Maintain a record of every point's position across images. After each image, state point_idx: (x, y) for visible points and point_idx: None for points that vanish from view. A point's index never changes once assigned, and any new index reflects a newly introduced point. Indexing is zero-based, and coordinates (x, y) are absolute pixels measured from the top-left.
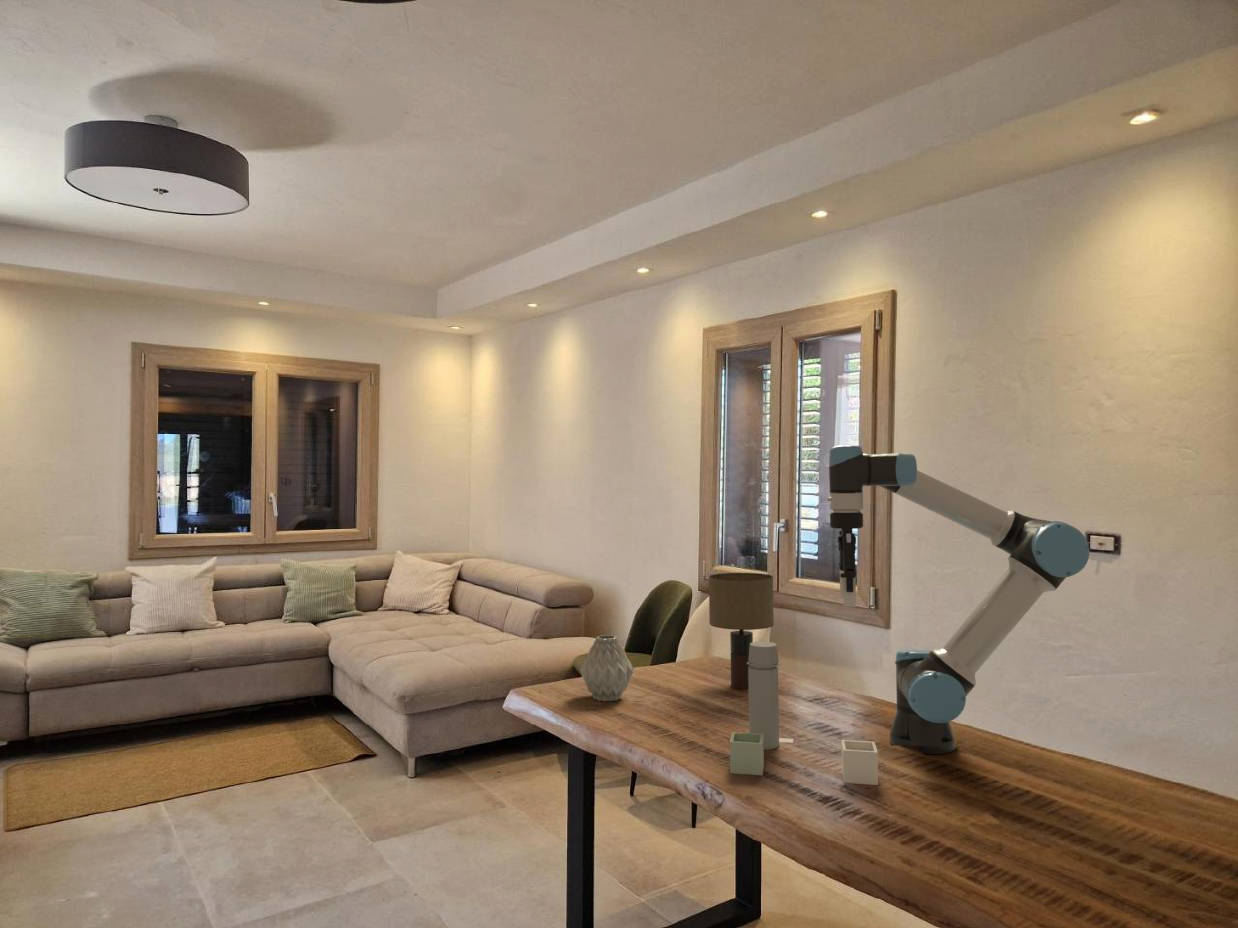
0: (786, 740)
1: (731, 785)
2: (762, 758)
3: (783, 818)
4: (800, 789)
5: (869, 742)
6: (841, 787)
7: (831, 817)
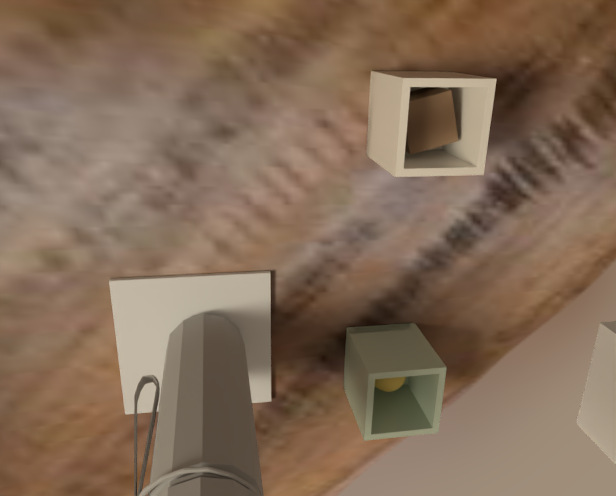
0: (130, 297)
1: None
2: (427, 347)
3: (593, 270)
4: (455, 246)
5: (409, 94)
6: None
7: (592, 184)
